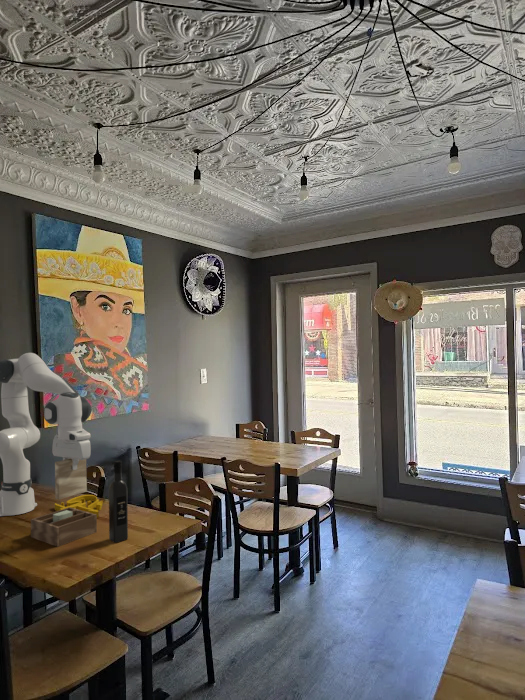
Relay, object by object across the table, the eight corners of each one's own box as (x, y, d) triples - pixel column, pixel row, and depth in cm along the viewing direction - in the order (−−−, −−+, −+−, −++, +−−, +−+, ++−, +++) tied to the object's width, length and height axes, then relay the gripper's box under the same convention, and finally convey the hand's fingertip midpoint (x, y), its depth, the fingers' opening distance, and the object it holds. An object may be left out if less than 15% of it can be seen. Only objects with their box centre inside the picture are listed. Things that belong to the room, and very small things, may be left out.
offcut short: (52, 522, 180) (52, 514, 180) (66, 517, 185) (66, 510, 185) (58, 523, 178) (58, 516, 178) (72, 519, 183) (72, 511, 183)
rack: (30, 537, 179) (30, 519, 180) (69, 523, 194) (69, 507, 194) (57, 546, 169) (57, 527, 170) (96, 531, 184) (96, 514, 184)
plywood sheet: (55, 498, 175) (54, 461, 175) (83, 490, 185) (82, 456, 185) (59, 499, 174) (58, 462, 174) (86, 491, 184) (86, 456, 184)
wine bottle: (128, 539, 175) (128, 461, 176) (114, 543, 172) (114, 463, 172) (122, 535, 180) (121, 459, 180) (108, 539, 176) (107, 461, 176)
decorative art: (88, 493, 229) (122, 505, 210) (88, 499, 229) (122, 511, 210) (46, 504, 213) (78, 517, 194) (46, 510, 213) (78, 524, 194)
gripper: (47, 433, 183) (48, 467, 182) (79, 436, 172) (79, 473, 171) (62, 431, 188) (62, 464, 188) (93, 434, 177) (94, 470, 177)
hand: (71, 469), depth 179 cm, fingers closed on plywood sheet, 2 cm apart
